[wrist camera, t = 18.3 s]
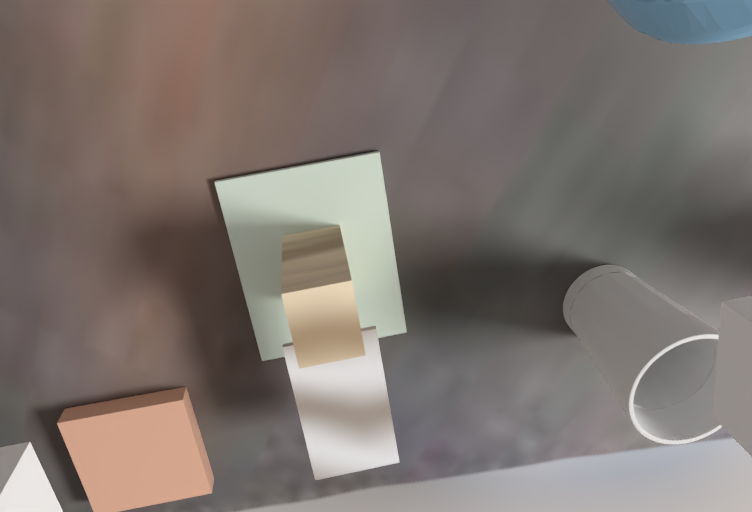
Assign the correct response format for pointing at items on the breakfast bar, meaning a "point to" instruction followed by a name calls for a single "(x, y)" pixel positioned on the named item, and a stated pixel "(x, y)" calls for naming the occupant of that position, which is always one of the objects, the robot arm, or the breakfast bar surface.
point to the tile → (137, 450)
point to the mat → (305, 213)
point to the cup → (647, 352)
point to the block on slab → (333, 359)
